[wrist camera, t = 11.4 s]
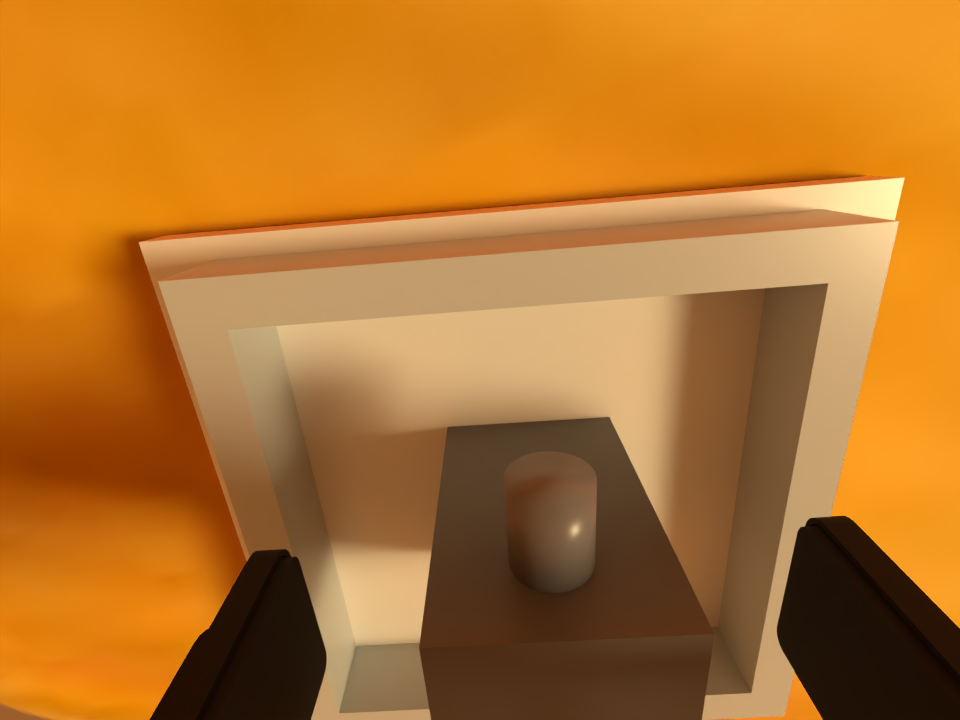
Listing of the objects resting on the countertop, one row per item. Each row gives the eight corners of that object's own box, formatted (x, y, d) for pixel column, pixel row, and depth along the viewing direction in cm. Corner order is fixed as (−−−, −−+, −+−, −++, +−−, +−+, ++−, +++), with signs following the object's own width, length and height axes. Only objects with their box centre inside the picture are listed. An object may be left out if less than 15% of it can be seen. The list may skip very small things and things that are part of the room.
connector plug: (441, 367, 12) (403, 557, 6) (611, 356, 12) (728, 541, 6) (461, 551, 14) (447, 816, 8) (605, 544, 14) (688, 807, 8)
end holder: (165, 235, 12) (66, 260, 9) (869, 175, 11) (999, 182, 8) (298, 653, 17) (261, 751, 14) (777, 628, 16) (837, 725, 14)
